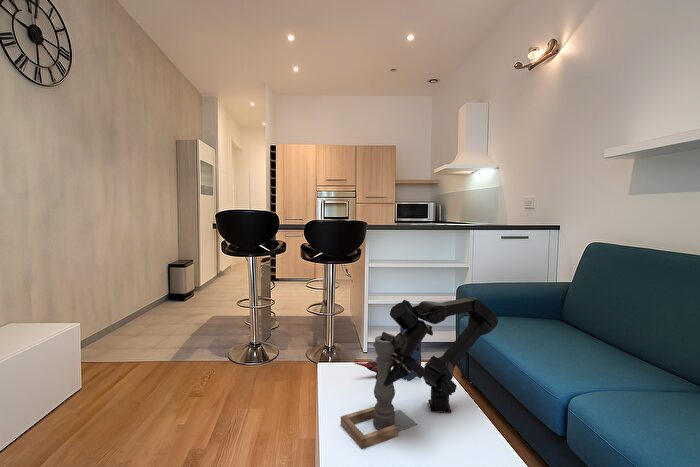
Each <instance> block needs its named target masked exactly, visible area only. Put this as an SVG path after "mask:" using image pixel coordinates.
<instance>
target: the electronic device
mask: <svg viewBox="0 0 700 467" xmlns="http://www.w3.org/2000/svg"><path fill="white" fill-rule="evenodd" d="M404 331H405V329H402V328H401V327H400V326H399V333H401V334H403V332H404ZM418 347H419V348H420V350H419V351H416V350H415V351H414V353H413V354H412V356H411V358H413V359H415V360H416V361H417V362H418V363H419V364H420V365H421V366H422V342H421V343H420V344H419V346H418ZM410 373H411V376H410V375H408V376H406V377H403V378H401V379H403V380H405V381H410V380H411V379H413V378H414V377H416V376H415V375H414V372H413V371H411V372H410Z"/></svg>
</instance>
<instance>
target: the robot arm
mask: <svg viewBox="0 0 700 467" xmlns="http://www.w3.org/2000/svg"><path fill="white" fill-rule="evenodd" d="M464 313H466V314H467V315H468V318H467V326H466V328H465V329H464V330H463V331H462V332H461V333H460V335H459V336H458V337H457V338H456V339H455V340H454V341H453V343H452V344H451V345H450V346H449V347H448V348H447V349H446V351H445V352H444V353H443V354H442V355H441V356H439V357H437V356H435V355H432V356H431V357H430V358H429V360H428V361H427V362H425V363H424V366H423V365H422V364H421V365H420V364H419V363H418V362H417V361H416V360H415V359H413V358H411V356H412V354H413V353H414V351H415V350H416V351H419V350H420V348H419V347H418V346H419V344H420V343H421V344H422V341H423V339H425V337H426V336H427V335H429V336H433V335H434V331H433V326H432V325H437V324H439V323H442V322H444V321H445V320H446V318H448V317H451V316H457V315H461V314H464ZM389 316H390V318H391V319H392V320H393V321H394V322H395V323H396V324H397V325H398V326H399V328H400V327H401V328H402V329H405V331H404V332H403V334H401V333H400V332H399V333H397V334H396V335H394V334H390V333H388V332H385V331H382V333H381V335H380V336H381V338H383V339H385V340H387V341H390V342H391V343H392V344H393V346H394V348H395V351H394V353H393V355H392V358H394V359H395V360H394V363H393V364H392V365H391V372H390V373H389V375H388V377H387V378H386V380H385V382H384V385H385V386H388V385H390V384H392V383H393V384H394V383H395V382H397V381H398V380H401V379H402V378H403V377H406V376H408V375H410V376H411V373H410V372H411V371H413V372H414V375H415V376H414V377H417V378H418V379H420V380H421V379H422V378H423V380H424V383H425V385H428V387H430V399H428V406H429V407H428V408H429V411H430V412H432V413H433V412H434V413H449V414H451V413H452V412H453V410H452V408H451V405H450V396H452V395H453V394H455V393H456V391H457V384H456V383H454V381H453V378H454V371H455V367H456V366H457V365H458V364H459V362H460V361H461V360H462V359H463V357H465V355H466V354H467V353H468V351H469V350H471V348H472V347H473V345H474V344H475V343H476V342H477V341H478V340H479V338H480V337H482V336H485V335H488V334H490V333H491V332H492V331H493V330H494V329H495V328H496V327H497V325H498V324H499V318H498V315H497V314H496V312H493V311H492V310H491V309H490V308H488V307H487V306H486V305H485V304H483V302H482V301H481V300H480V299H478V298H475V297H471V296H467V297H466V296H465V297H463V298H459V299H452V300H449V301H442V302H437V301H429V300H427V301H425V300H424V301H423V300H422V301H421V302H419V304H417V305H414V306H413V305H412V303H411V302H410V301H409V300H406V299H403V300H402V302H401V301H400V302H398V303H396V304H395V305H393V306H392V307H391V309H390V312H389ZM426 322H427V323H429V324H432V325H429V324H427V323H426ZM372 346H373V347H374V348H375V342H374V343H373V345H372ZM377 375H378V371H377V373H376V375H375V376H376V377H375V376H374V377H375V380H376V379H377Z"/></svg>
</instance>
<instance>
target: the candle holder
mask: <svg viewBox="0 0 700 467" xmlns="http://www.w3.org/2000/svg"><path fill="white" fill-rule="evenodd" d="M374 343H375V347H374V351H375V353H376V355H377V357H376V358H375V359H376V363H377V364H378V375H377V379H376V378H375V385H374V388H373V394H374V398H375V399H376V403H375V404H374V406H373V407H374V408H375V409H374V412H373V418H372V419H373V426H374V427H375V428H377V429H378V430H380V429H383V428H386V427H389V426H392V425H395V412H394V411H395V407H394V404H392V403H393V399H394V398H395V395H396V389H395V385H394V382H393V383H392V384H390V385H388V386H385V385H384V382H385V380H386V378H387V377H388V375H389V373H390V372H391V370H392V368H391V365H392V364H393V362H394V360H393V358H392V355H393V353H394V351H395V348H394V346H393V344H392V343H391V342H390V341H387V340H385V339H383V338H381V335H378V336H376V337H375V338H374Z"/></svg>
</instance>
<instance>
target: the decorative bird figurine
mask: <svg viewBox="0 0 700 467" xmlns="http://www.w3.org/2000/svg"><path fill="white" fill-rule="evenodd" d="M393 360H395V359H394V358H393ZM395 361H396V360H395ZM393 363H394V362H393ZM354 364H355V365H359V366H362V367H365V368H366V369H367V370H369V371H370V372H373V373H376V374H377V371H378V364H377V363H376V358H374V359H371V360H370V361H368V362H354ZM374 377H376V375H375V376H374Z"/></svg>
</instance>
